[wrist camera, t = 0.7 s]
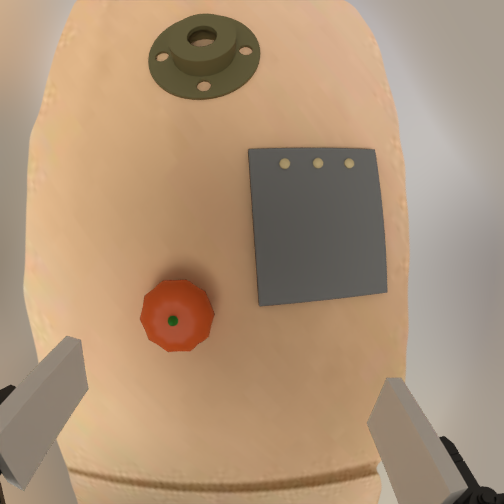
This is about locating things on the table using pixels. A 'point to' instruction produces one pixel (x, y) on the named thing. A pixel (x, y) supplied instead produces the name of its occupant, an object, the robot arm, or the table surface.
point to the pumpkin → (177, 315)
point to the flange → (204, 57)
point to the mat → (317, 224)
